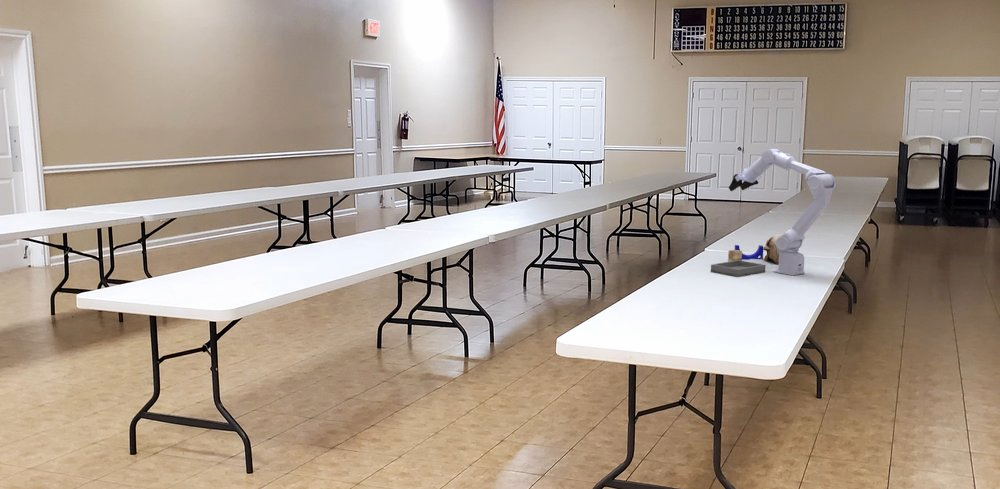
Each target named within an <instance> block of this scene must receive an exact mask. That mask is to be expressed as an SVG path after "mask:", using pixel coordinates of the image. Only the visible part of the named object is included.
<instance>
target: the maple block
mask: <svg viewBox="0 0 1000 489" xmlns="http://www.w3.org/2000/svg"><path fill="white" fill-rule="evenodd" d="M727 253H728V255H727V256H728V258H727V262H730V261H736V260H741V261H743V260H742V253H743V251H742V250H741V249H740V250H735V249H731V250H730V249H729V250H728V252H727Z"/></svg>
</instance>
